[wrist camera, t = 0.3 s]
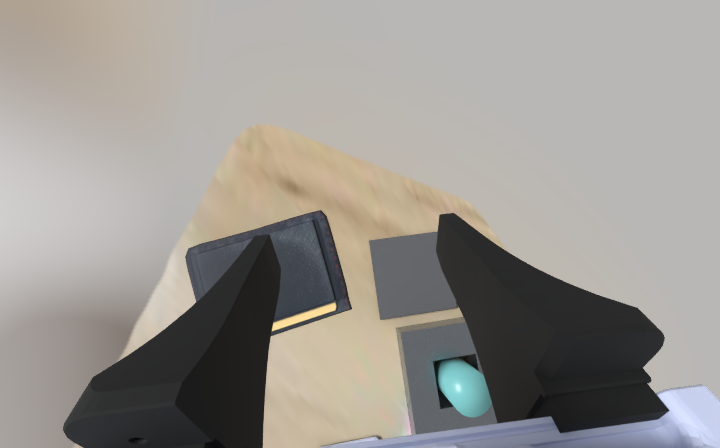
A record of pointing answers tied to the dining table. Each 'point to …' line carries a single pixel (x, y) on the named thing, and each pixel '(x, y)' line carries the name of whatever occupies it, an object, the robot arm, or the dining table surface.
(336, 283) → the grey book
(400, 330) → the housing
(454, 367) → the end cap
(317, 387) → the dining table surface
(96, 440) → the robot arm
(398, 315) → the mat
